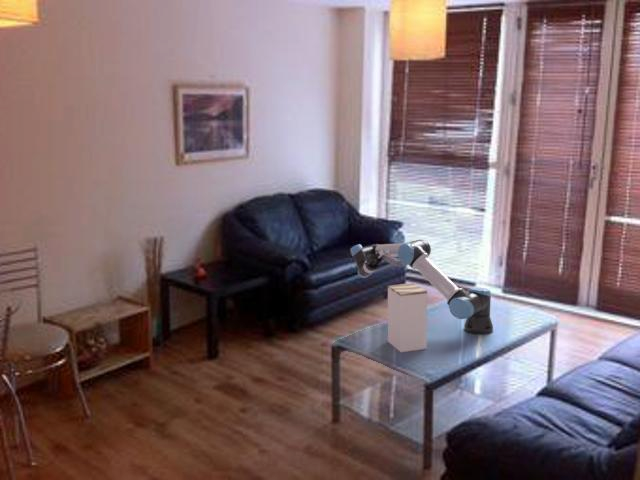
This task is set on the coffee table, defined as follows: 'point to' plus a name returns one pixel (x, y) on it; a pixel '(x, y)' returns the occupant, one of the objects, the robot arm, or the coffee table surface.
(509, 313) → the coffee table surface
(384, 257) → the metal bar
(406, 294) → the pedestal
